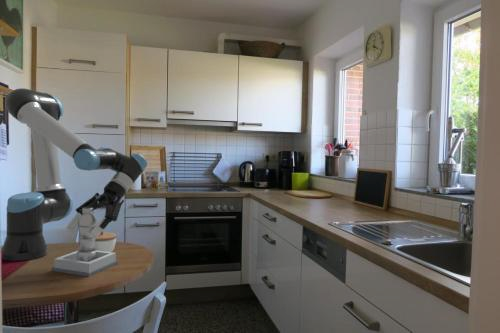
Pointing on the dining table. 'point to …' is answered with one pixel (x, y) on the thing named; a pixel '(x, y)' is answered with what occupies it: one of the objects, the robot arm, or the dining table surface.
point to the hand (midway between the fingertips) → (80, 232)
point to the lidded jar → (105, 241)
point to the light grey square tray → (84, 263)
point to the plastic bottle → (86, 235)
